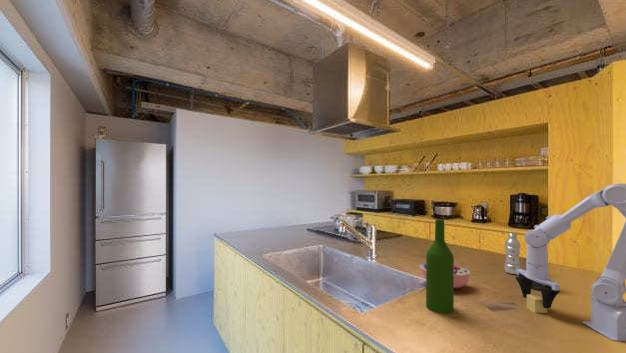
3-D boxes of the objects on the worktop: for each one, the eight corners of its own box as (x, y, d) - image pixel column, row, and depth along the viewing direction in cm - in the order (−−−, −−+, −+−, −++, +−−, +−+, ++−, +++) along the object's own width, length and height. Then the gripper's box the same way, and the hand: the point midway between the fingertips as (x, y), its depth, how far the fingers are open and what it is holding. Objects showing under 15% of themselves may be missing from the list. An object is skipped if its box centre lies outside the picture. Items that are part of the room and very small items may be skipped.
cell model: (475, 299, 106) (475, 270, 106) (420, 292, 112) (420, 264, 112) (466, 283, 122) (466, 258, 122) (418, 277, 128) (418, 253, 128)
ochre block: (547, 317, 92) (547, 299, 92) (535, 316, 93) (535, 299, 93) (538, 311, 96) (538, 294, 96) (526, 311, 97) (526, 294, 97)
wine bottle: (439, 302, 103) (439, 217, 103) (459, 314, 94) (459, 221, 94) (420, 306, 99) (420, 218, 99) (440, 318, 91) (440, 222, 91)
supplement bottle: (526, 285, 119) (526, 258, 119) (547, 289, 115) (547, 261, 115) (526, 290, 114) (526, 262, 114) (548, 295, 109) (548, 265, 109)
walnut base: (538, 323, 88) (538, 319, 88) (500, 322, 89) (500, 318, 89) (514, 306, 100) (514, 302, 100) (480, 304, 101) (480, 301, 101)
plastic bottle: (501, 272, 135) (501, 232, 135) (509, 270, 138) (509, 231, 138) (515, 276, 130) (515, 235, 130) (523, 274, 132) (523, 233, 132)
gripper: (568, 270, 88) (568, 312, 88) (528, 257, 102) (528, 292, 102) (549, 271, 87) (548, 313, 87) (511, 257, 101) (511, 293, 101)
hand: (536, 302), depth 94 cm, fingers open, 7 cm apart
